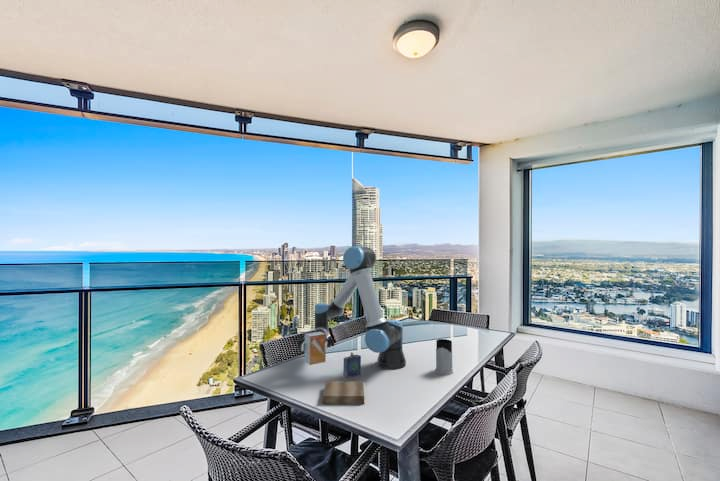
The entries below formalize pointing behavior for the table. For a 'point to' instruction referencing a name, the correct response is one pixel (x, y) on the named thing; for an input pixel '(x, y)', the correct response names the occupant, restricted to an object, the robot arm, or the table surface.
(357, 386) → the walnut plinth
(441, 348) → the glass holder
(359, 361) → the flask
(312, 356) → the small box
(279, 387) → the table surface
